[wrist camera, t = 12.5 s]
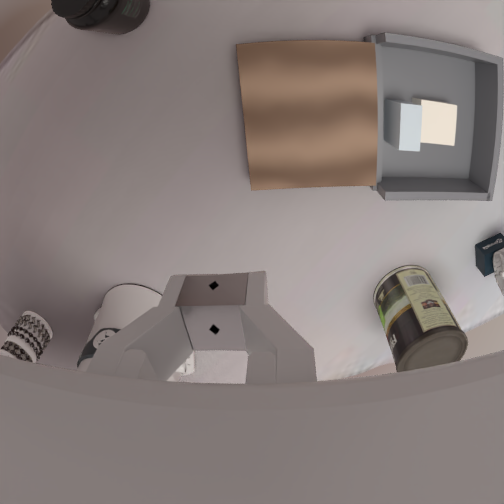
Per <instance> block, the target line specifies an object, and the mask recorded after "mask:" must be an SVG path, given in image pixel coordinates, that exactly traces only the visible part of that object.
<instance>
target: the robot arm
mask: <svg viewBox="0 0 504 504" xmlns="http://www.w3.org/2000/svg"><path fill="white" fill-rule="evenodd" d="M94 320H95V322H94V325H93V327H92V330H91V332H90V335H89V337H88V340H87V343H86V346H85V348H84V350H83V352H81V354H80V357H79V360H78V363H77V367H78V369H77V371H75V370H69V369H63V368H58V367H53V366H47V365H42V364H38V363H33V362H28V361H24V360H19V359H15V358H11V357H7V356H3V355H0V504H504V350H502V351H499V352H495V353H491V354H487V355H483V356H479V357H475V358H471V359H467V360H462V361H457V362H452V363H448V364H443V365H438V366H432V367H427V368H421V369H415V370H409V371H403V372H397V373H390V374H382V375H375V376H366V377H359V378H348V379H338V380H327V381H317V377H316V367H315V357H314V349H313V348H312V347H311V346H310V345H309V344H308V343H307V342H306V341H305V340H304V339H303V338H302V337H301V336H300V335H299V334H298V333H297V332H296V331H295V330H294V329H293V328H292V327H291V326H290V325H289V324H288V323H287V322H286V321H285V320H284V319H283V318H282V317H281V316H280V315H279V314H278V313H277V312H276V311H275V310H274V309H273V308H272V307H271V306H270V305H269V301H268V288H267V276H266V272H265V271H258V272H249V273H233V274H188V275H173V276H171V277H170V279H169V281H168V284H167V286H166V288H165V291H164V293H163V295H162V296H161V295H160V294H158V293H157V292H155V291H153V290H150V289H148V288H145V287H142V286H137V285H120V286H117V287H114V288H112V289H111V290H110V291H108V292H107V294H106V295H105V297H104V300H103V304H102V307H101V308H99V309H98V310H97V311H96V313H95V315H94ZM202 350H233V351H247V353H248V355H249V356H248V364H247V374H246V383H245V384H223V383H191V382H179V379H180V376H185V375H189V374H191V373H193V372H194V370H195V351H202Z"/></svg>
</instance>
